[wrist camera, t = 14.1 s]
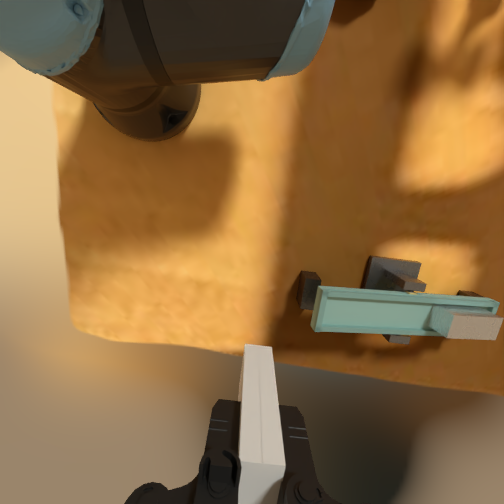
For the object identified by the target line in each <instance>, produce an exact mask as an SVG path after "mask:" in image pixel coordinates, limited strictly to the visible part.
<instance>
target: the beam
mask: <svg viewBox="0 0 504 504" xmlns="http://www.w3.org/2000/svg"><path fill="white" fill-rule="evenodd" d="M433 304H444V305H460V306H475V307H481V308H483V309H485V310H487V311H490V312H492V313H494V314H496V312H497V309H498V306H499V304H500V302H497V301H495V300H493V299H490V298H484V297H470V296H456V295H442V294H428V293H415V292H413V291H410V290H409V291H406V292H399V291H385V290H371V289H357V288H343V287H329V286H318V289H317V294H316V299H315V304H314V309H313V314H312V320H311V325H310V326H311V327H312V329H313V330H314V331H315V332H320V331H322V332H347V333H373V334H398V335H423V336H443V335H441V334H440V333H438V332H437V331H435V330H434V329H432V328H431V327H429V326H428V325H427V323H428V319H429V316H430V313H431V310H432V306H433Z"/></svg>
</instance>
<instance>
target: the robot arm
mask: <svg viewBox="0 0 504 504" xmlns="http://www.w3.org/2000/svg"><path fill="white" fill-rule="evenodd" d="M334 3H335V0H0V51H2V52H3V53H5V54H6V55H8V56H9V57H11V58H12V59H14V60H15V61H16V62H17V63H18V64H19V65H21V66H22V67H24V68H25V69H27V70H29V71H32V72H33V73H35V74H36V73H38V74H39V75H42V76H45V77H46V78H48V79H50V80H52V81H54V82H56V83H58V84H59V85H61V86H63V87H65V88H67V89H69V90H71V91H73V92H75V93H76V94H78V95H80V96H82V97H84V98H86V99H88V100H90V101H92V102H93V103H94V105H95V107H96V108H97V110H98V111H99V112H100V114H101V115H102V116H103V117H104V119H105V120H106V121H107V122H109V123H110V124H111V125H112V126H113V127H115V128H116V129H117V130H119V131H121V132H122V133H124V134H127V135H129V136H131V137H134V138H136V139H139V140H144V141H161V140H165V139H168V138H171V137H173V136H175V135H176V134H178V133H179V132H181V131H182V130H183V129H184V128H185V127H186V126H187V125H188V124H189V123H190V121H191V120H192V118H193V117H194V115H195V113H196V110H197V108H198V105H199V101H200V95H201V84H205V83H218V82H231V81H243V80H257V81H265V80H269V79H270V78H273V77H280V76H288V75H294V74H296V73H298V72H300V71H302V70H303V69H304V68H306V67H307V66H308V65H309V64H310V62H311V61H312V60H313V58H314V57H315V55H316V53H317V51H318V49H319V47H320V45H321V43H322V41H323V38H324V36H325V33H326V30H327V27H328V24H329V21H330V18H331V14H332V11H333V7H334ZM124 504H341V503H339V502H337V501H335V500H334V499H332V498H331V497H330V496H329V495H328V494H326V493H325V491H324V489H323V488H322V486H321V485H320V484H319V482H318V480H317V476H316V473H315V468H314V464H313V460H312V454H311V450H310V445H309V441H308V436H307V432H306V427H305V423H304V418H303V416H302V414H301V413H300V411H299V410H298V408H297V407H292V406H284V405H278V396H277V388H276V379H275V371H274V362H273V354H272V347H268V346H259V345H251V344H245V347H244V355H243V362H242V369H241V377H240V384H239V397H238V401H231V400H222V399H219V400H218V401H217V402H216V404H215V405H214V407H213V408H212V414H211V419H210V424H209V430H208V436H207V441H206V446H205V452H204V455H203V457H202V459H201V462H200V465H199V473H198V475H197V476H196V477H195V478H194V479H193V481H192V482H190V483H188V484H187V485H185V486H182V487H179V488H176V489H172V490H168V489H167V488H166V487H165V486H163V485H162V484H161V483H154V482H151V483H147V484H143V485H142V486H140V487H139V488H137V489H135V490H134V492H133V493H132V494H131V495H130V496H129V497H128V499H127V500H126V502H125V503H124ZM362 504H371V503H362Z"/></svg>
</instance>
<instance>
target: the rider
mask: <svg viewBox="0 0 504 504" xmlns="http://www.w3.org/2000/svg"><path fill="white" fill-rule="evenodd" d="M503 319H504V318H503V317H500V316H498V315H496V314H494V313H492V312H490V311H487V310H485V309H483V308H481V307H475V306H460V305H444V304H433V306H432V310H431V313H430V316H429V319H428V323H427V325H428V326H429V327H431V328H432V329H434V330H435V331H437V332H438V333H440V334H441V335H443V336H444V337H446V338H456V339H482V340H496V337H497V335H498V332H499V329H500V327H501V324H502V321H503Z"/></svg>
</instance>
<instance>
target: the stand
mask: <svg viewBox="0 0 504 504" xmlns="http://www.w3.org/2000/svg"><path fill="white" fill-rule="evenodd" d="M420 267H421V263H420V262H417V261H409V260H401V259H393V258H386V257H378V256H370V258H369V262H368V266H367V270H366V275H365V279H364V283H363V287H362V289H371V290H385V291H399V292H406V291H409V290H410V291H421V292H424V291H425V287H426V283H424V282H422V281H420V280H418V279H417V277H418V274H419V270H420ZM320 285H321V279H320V278H319V276H318V275H317V274H316V272H308V271H301V275H300V281H299V287H298V292H297V298H296V299H297V301H298V304H299V306H300V309H308V310H313V309H314V304H315V299H316V294H317V289H318V286H320ZM458 296H470V297H483V296H480V295H478V294H476V293H474V292H469V291H461V290H459V293H458ZM484 298H485V297H484ZM382 335H383V336H384V337H385V338H386V339H387V341H388V342H392V343H400V344H409V342H410V338H411V337H410V336H409V335H398V334H382Z"/></svg>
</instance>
